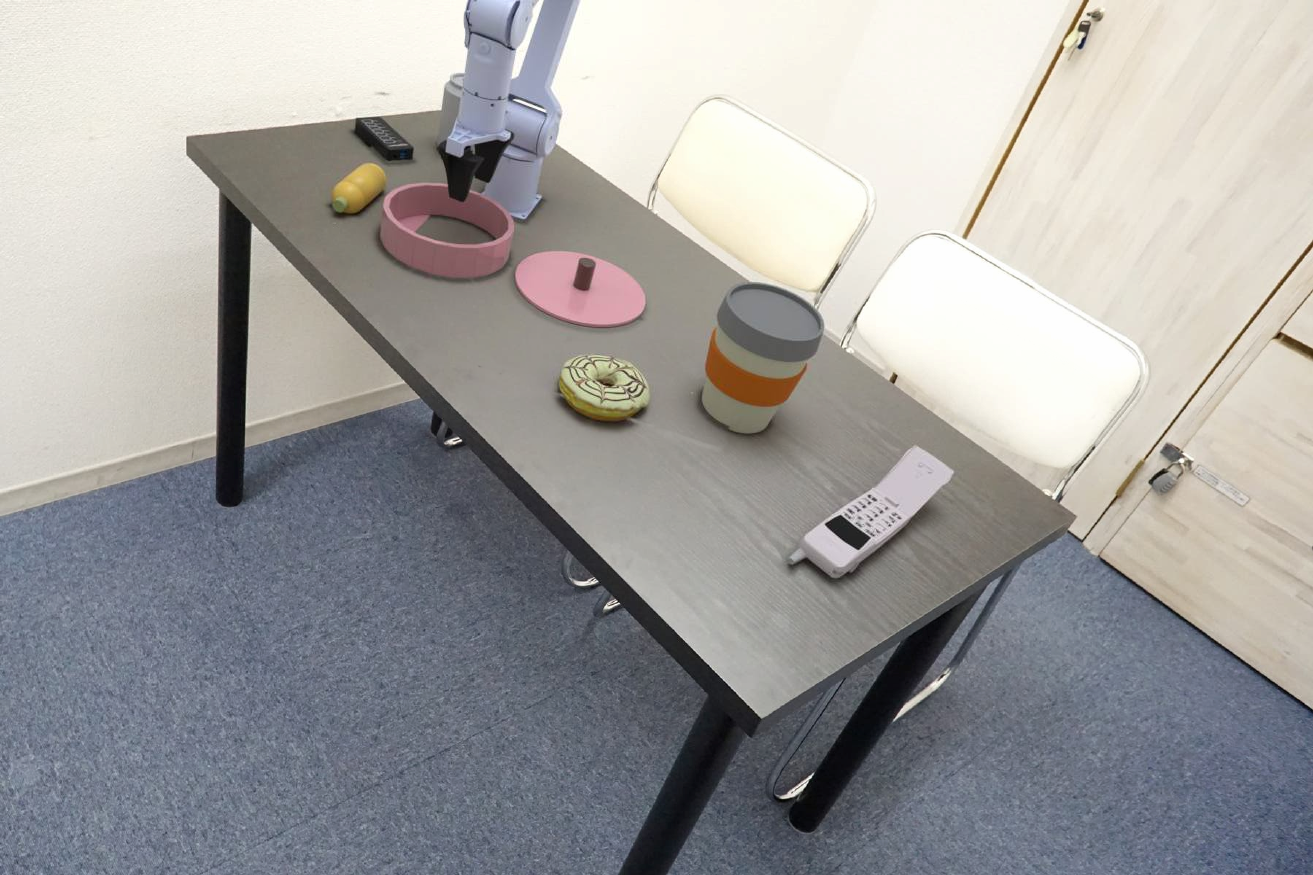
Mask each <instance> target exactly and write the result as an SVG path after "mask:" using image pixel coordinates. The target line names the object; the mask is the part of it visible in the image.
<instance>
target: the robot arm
mask: <svg viewBox="0 0 1313 875" xmlns="http://www.w3.org/2000/svg"><path fill="white" fill-rule="evenodd" d="M539 1H540V0H467V1H466V3H465V9H464V11H463V28H464V41H463V42H464V43H463V45H464V48H466V49H467V52H466V60H465V66H464V72H463V73H464V80H463V87H462V94H461V101H460V108H459V115H458V117H457V118H456V121H455V125H454V128H453V131H452V134H451V135H450V136H449V137H448V138H447V140H445V141H443V142H441V143H440V144H439V146H438V147H437V148H438V149H437V153H438V154H439V157H440V158H441V161H442V163H443V166H444V170H445V174H446V184H448V192H449V197H450V198H453V199H455V200H458V201H460V202H464V201H465V200H466V198H467V196H468V194H469V191H470V190H471V188H472V183H473V180H474V179H476V180H478V181H480V182H483V183H485V186H484V190H483V191H482V192H481V194H483V195H485V196H487V197H489V198H491V199H493V200H495V201H496V202H498V203H499V204H500V205H501V206H502V207H504V208H505V209H506V210H507V211H508V212H509V214H510V216H511V217H515V218H518V219H520V220H526V219H527V217H528V216H529V215H530V214H531V212H532V211H533V210H534V208H535V207H536V206H537V205H538V203H539V201H540V200H541V199H542V198H543V196H542V195H541V194H538V193H537V192H538V187H539V181H540V176H541V172H542V166H543V163H544V162H543V161H544V158H546V157H547V156H549V155H550V154H551V153H552V151H553V149H554V147H555V145H556V142H557V139H558V137H559V131H560V124H561V120H562V117H563V109H562V105H561V103H560V101H559V100H558V98H557V97H556V96H555V94H554V92H553V91H552V85H553V83H554V79H555V76H556V73H557V70H558V67H559V64H560V63H561V59H562V56H563V54H564V53H563V52H564V50H565V46H566V44H567V41H568V39H569V35H570V33H571V29H572V27H573V23H574V21H575V18H576V14H577V12H578V9H579V7H580V6H579V5H580V3H581V0H543V1H542V4H541V6H540V10H539V13H538V16H537V19H536V22H535V25H534V28H533V30H532V34H531V37H530V40H529V43H528V46H527V50H526V52H525V55H524V57H523V61H522V64H521V67H520V70H519V74H518V76H515V77H513V72H514V66H515V60H516V54H517V49H518V48H519V47H520V46H521V44H522V43H523V42H524V40H525V38H526V35H527V32H528V29H529V26H530V24H531V22H532V19H533V16H534V13H533V11H534V9H535V7H536V5H537V4H538V3H539ZM512 77H513V78H512ZM517 100H518V101H517ZM519 101H522V102H524V103H521V102H519ZM525 103H527V104H529V105H527V104H525ZM530 105H532V106H530ZM533 106H534V107H533ZM535 107H537V108H540V109H542V110H545V111H542V110H540V109H537V108H535ZM473 144H474V146H475V154H473V151H472V150H471V146H470V145H473Z"/></svg>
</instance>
